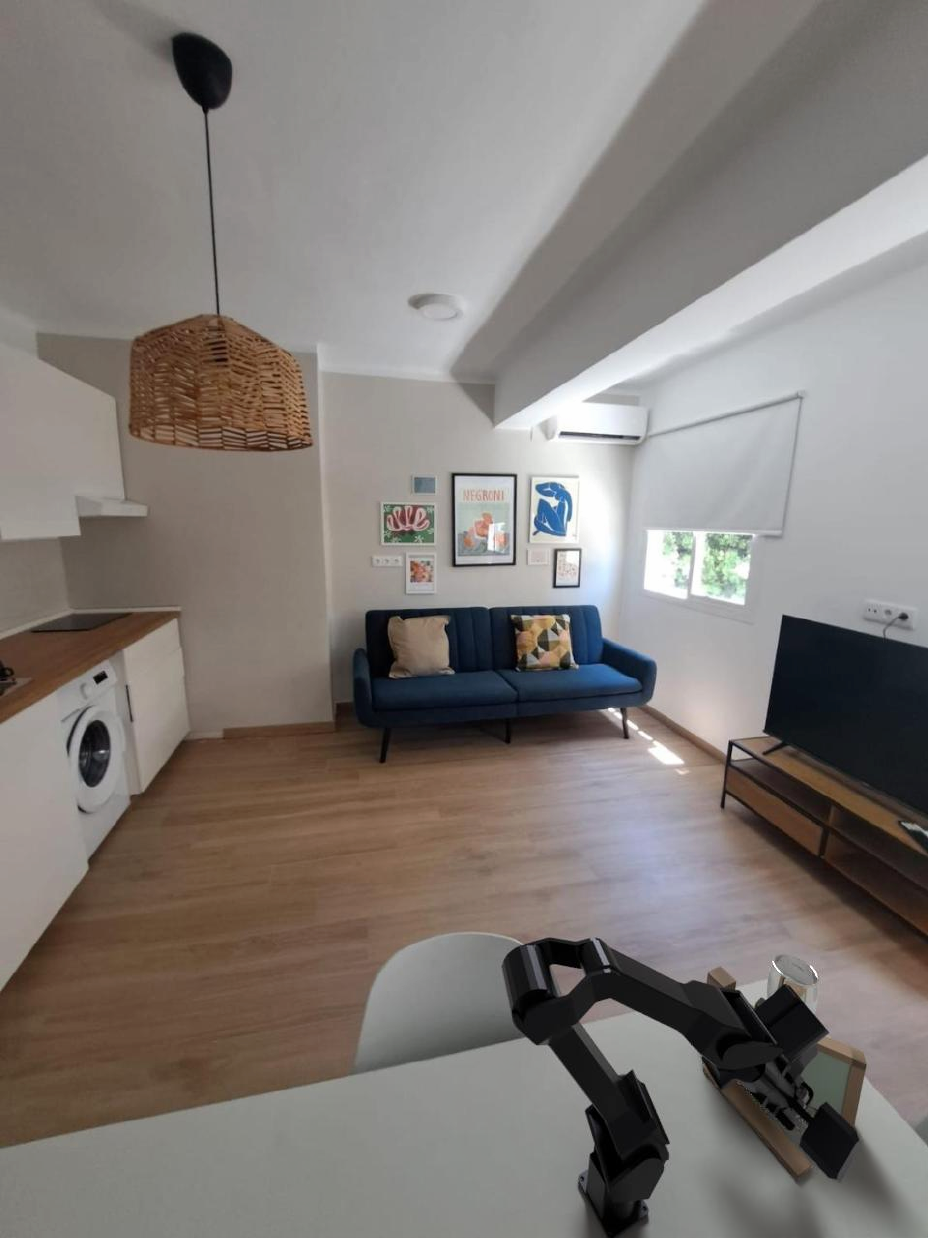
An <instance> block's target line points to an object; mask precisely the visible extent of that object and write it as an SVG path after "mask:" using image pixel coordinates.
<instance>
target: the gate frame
mask: <svg viewBox="0 0 928 1238" xmlns="http://www.w3.org/2000/svg"><path fill="white" fill-rule="evenodd" d="M705 983H706V984H710V985H713V986H716V987H717V988H726V989H733V990H736V986H737V980H736V978H734V977H733V976H732V975H730V974H729V972H727V971H726V969H724V968H723V967H722V966H718V967H716V968H714V969H711V970H709V971H707V975H706V982H705ZM702 1071H703V1073H704V1074H706V1076H707V1077H708V1078H709V1079H710V1081H711V1082H712V1083H713V1084H714V1085H715V1086H716V1088H718V1086H717V1085H716V1083H715V1081H714V1080H713V1078H712V1076H711V1075H710V1073H709V1071H708V1070H707V1068H706V1066H705V1065H704V1064H703V1066H702ZM718 1089H719V1088H718ZM719 1091H720V1092H721V1093H722V1095H723V1096H725V1098H726V1099H727V1100H728V1101H729V1102H730V1103H731V1105H732V1107H734V1108H735V1109H736V1111H737V1113H739V1114H740V1115H741V1116H742V1118H743V1119H744V1120H745V1121H746V1122H747V1124H748V1125H749V1126H750V1127H751V1129H753V1130H754V1131H755V1132H756V1134H757V1135H758V1136H759V1137H760V1139H761V1140H762V1141H763V1142H764V1143H765V1144H766V1146H768V1148H769V1149H770V1150H771V1152H773V1154H774V1155H775V1156H776V1157H777V1158H778V1159H779V1160H780V1162H781V1163H782V1164H783V1166H785V1167H786V1169H787V1170H788V1171H789V1172H790V1173H791V1175H792V1176H793V1177H794V1178H795V1179H796V1181H799V1180H800V1179H801V1178H802V1177H804V1176H805V1174H807V1173H808V1172H809V1171H810V1170H811V1169H812V1167H813V1166H812V1165H813V1164H812V1163H811V1162H810V1161H809V1160H808V1158H807V1157H806V1156H805V1155H804V1154H803V1153H802V1152H801V1151H800V1150H799V1148H797V1146H796V1145H795V1144H794V1143H793V1142H792V1141H791V1139H790V1138H788V1136H787V1135H786V1134H785V1132H783V1131H782V1130H781V1128H780V1127H778V1125H777V1124H776V1123H775V1122H774V1121H773V1120H772V1118H770V1117H769V1115H768V1114H767V1113H766V1112H765V1111H764V1110H763V1109H762V1107H761V1106H760V1104H758V1103H757V1101H755V1099H754V1098H753V1097H751V1094H750V1093H749V1092H747V1090H745V1089H744V1087H742V1085H741V1084H740V1083H739V1082H738V1081H735V1082H733V1083H732V1084H731V1085H729V1086H728V1087H727V1088H726V1089H724V1090H723V1091H721V1090H720V1089H719Z"/></svg>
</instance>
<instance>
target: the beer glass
mask: <svg viewBox="0 0 928 1238" xmlns="http://www.w3.org/2000/svg"><path fill="white" fill-rule="evenodd" d="M766 984H767V985H766V999H768V998H769V997H770V996H771V995H773V994H774V993H775V992H776V990H777V989H778V988H780V987H781V986H782V985H783V984H787V985H790V987H791V988H792V989H793V990H794V991H795V992H796V994H797V995H798V996H799V997H800V998H801V1000H802V1001H803V1002H804V1003H805V1004H806V1005H807V1007H808V1008H809V1009H810V1010H811V1011H812V1013H813V1014H814V1015H815V1013H816V1010H817V1007H818V1001H819V1000H818V999H819V989H820V988H819V986H820V985H819V984H820V975H818V972H817V971H816V970H815V969H814V967H812V965H810V964H809V963H808V962H807V961H805V960H804V959H801V958H800V957H798V956H796V955H794V954H791V953H786V952H784V953H783V952H781V953H779V952H778V953H776V954H775V955H773V957H772V961H771V964H770V968H769V971H768V976H767V983H766Z"/></svg>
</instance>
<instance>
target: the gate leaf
mask: <svg viewBox="0 0 928 1238" xmlns="http://www.w3.org/2000/svg"><path fill="white" fill-rule="evenodd" d="M751 1006H752V1007H753V1008H754V1007H755V1005H753V1004H751ZM817 1049H818V1054H817V1056H816V1057H814V1058H813V1059H812V1060H811V1061H810V1063H809V1064H808V1065H807V1066H806V1067H805V1068H804V1071H803V1072H802V1074H801V1075H800V1076H801V1077H802V1078H803V1079H804V1081H805V1082H806V1083H807V1084H808V1085H809V1086H810V1087H811V1088H812V1090H813V1093H814V1096H813V1100H812V1102H811V1104H810V1105H809V1107H812V1108H813V1109H815V1110H818V1109H819V1107H820V1106H821V1105H822V1104H823V1103H825V1102H827V1103H828V1104H829V1105H830V1106H831V1107H832V1108H833V1109H834V1110H836V1111H837V1112H838V1113H839V1114H840V1115H841V1116H842V1117H843V1118H844V1119H845V1120H846V1121H847V1122H848V1123H849V1124H850V1125H851V1126H852V1127H853V1128H854V1129H855V1124H856V1119H857V1113H858V1111H859V1104H860V1099H861V1094H862V1089H863V1084H864V1080H865V1075H866V1070H867V1064H868V1063H867V1059H866V1057H865V1052H864V1051H862V1050H860V1049H857V1048H854V1047H852V1046H849V1044H846V1043H843V1042H840V1041H838V1040H836V1039H834V1038H831V1037H830V1036H828V1035H827V1036H825V1037H824V1038H823V1039H822V1040H820V1041H819V1042H818V1043H817Z"/></svg>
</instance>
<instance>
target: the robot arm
mask: <svg viewBox="0 0 928 1238" xmlns="http://www.w3.org/2000/svg"><path fill="white" fill-rule="evenodd" d="M554 965H557V966H561V967H562V966H563V967H567V968H571V969H575V970H576V969H577V970H582V972H583V974H584V977H583V978H582V979H581V980H580V981H579V982H578V983H577V984H576V985H575V986H574V987H573V988H572V989H571V990H570V991H569V992H568V993H567V994H564V995H563V994H562V991H561V988H560V986H559V983H558V980H557V977H556V975H555V973H554V971H553V970H554V969H552V966H554ZM501 973H502V977H503V981H504V982H503V983H504V986H505V990H506V991H505V992H506V996H507V1001H508V1006H509V1010H510V1015H511V1019H512V1023H513V1025H514V1027H515V1028H516V1029H517V1031H518V1032H519V1033H520V1034H522V1035H523V1036H524V1037H525V1038H527V1040H528V1041H530V1042H531V1043H532V1044H533V1045H535V1046H539V1047H540V1046H548V1048H550V1049H551V1051H552V1052H553V1054H554V1056H555V1057H556V1058H557V1059H558V1061H559V1062H560V1063H561V1065H562V1066H563V1067H564V1069H565V1070H566V1072H567V1073H568V1074H569V1075H570V1077H571V1078H572V1079H573V1081H574V1082H575V1083H576V1084H577V1086H578V1087H579V1088H580V1090H581V1091H582V1092H583V1094H584V1095H585V1096H586V1098H587V1099H588V1100H589V1102H590V1103H591V1104H590V1105H589V1106H587V1107H586V1108H585V1109H584V1114H585V1117H586V1120H587V1124H588V1127H589V1130H590V1134H591V1137H592V1140H593V1144H594V1145H593V1151H592V1152H591V1153H589V1156H588V1168H587V1169H586V1170H584V1171H582V1172H580V1173H579V1175H578V1176H577V1177H578V1178H577V1179H578V1180H577V1182H578V1184H579V1186H580V1188H581V1190H582V1192H583V1194H584V1195H585V1197H586V1199H587V1201H588V1204H589V1205H590V1207H591V1209H592V1211H593V1213H594V1215H595V1217H596V1219H597V1221H598V1222H599V1224H600V1226H601V1228H602V1231H603V1232H604V1235H605V1236H606V1237H607V1238H619V1236H622V1235H623V1234H624V1233H626V1232H627V1231H629V1230H630V1229H631V1228H632V1227H634V1226H635V1225H637V1224H639V1222H641V1221H642V1220H644V1219H645V1218H647V1217H648V1215H649V1211H650V1210H649V1207H648V1205H647V1204H646V1202H645V1201H646V1200H649V1199H650V1198H651V1196H652V1194H653V1192H654V1191H655V1189H656V1187H657V1185H658V1183H659V1181H660V1179H661V1178H662V1176H663V1174H664V1172H665V1164H666V1163H667V1161H669V1160H670V1152H669V1150H668V1148H667V1145H670V1144H671V1141H670V1139H669V1137H668V1135H667V1132H666V1130H665V1128H664V1125H663V1123H662V1121H661V1118H660V1117H659V1116H660V1115H659V1114H658V1112H657V1109H656V1107H655V1104H654V1102H653V1100H652V1097H651V1095H650V1093H649V1091H648V1088H647V1085H646V1083H644V1082H643V1081H640V1079H639V1078H638V1077H637V1075H636V1073H635V1071H634V1069H633V1068H632V1069H631V1070H630V1071H628V1072H627V1073H622V1074H618V1073H617V1072H616V1070H615V1069H614V1067H613V1066H612V1065H611V1063H610V1062H609V1060H607V1058H606V1057H605V1055H604V1053H602V1051H601V1049H600V1048H599V1047H598V1045H597V1044H596V1042H594V1040H593V1038H592V1037H591V1035H590V1034H589V1032H587V1030H586V1028H584V1026H583V1025H582V1023H581V1022H580V1021H581V1019H583V1017H585V1015H586V1014H587V1013H588V1012H589V1010H591V1009H592V1008H593V1006H594V1005H595V1004H597V1003H598V1002H602V1001H606V1000H609V999H611V1000H613V1001H615V1002H617V1003H618V1004H621V1005H623V1006H624V1007H627V1008H629V1009H631V1010H632V1011H635V1012H637V1013H639V1014H640V1015H644V1016H646V1017H648V1018H650V1019H651V1020H654V1021H655V1022H657V1023H660V1024H662V1025H664V1026H666V1027H668V1028H670V1029H673V1030H674V1031H676V1032H678V1033H679V1034H681V1035H682V1036H683V1037H684V1038H685V1039H686V1041H687V1042H689V1043H688V1044H690V1045H691V1046H692V1047H693V1048H694V1049H695V1051H697V1053H698V1054H699V1055H700V1056H701V1058H700V1059H701V1061H702V1063H703V1066H704V1065H705V1066H706V1068H707V1070H708V1071H709V1073H710V1075H711V1076H712V1078H713V1080H714V1081H715V1083H716V1085H717V1086H718V1087H717V1086H716V1085H715V1086H716V1087H717V1088H718V1089H720V1090H721V1091H723V1090H724V1089H726V1088H727V1087H728V1086H729V1085H731V1084H732V1083H733V1082H735V1081H737V1082H738V1083H739V1084H740V1085H741V1087H742V1086H743V1088H745V1089H746V1091H748V1094H749V1095H750V1096H752V1098H753V1099H754V1100H756V1102H758V1103H759V1106H760V1107H762V1108H765V1109H766V1110H768V1111H769V1113H770V1114H771V1115H772V1116H774V1118H775V1119H776V1120H777V1121H778V1122H779V1124H781V1125H782V1126H783V1127H784V1129H786V1130H787V1131H789V1132H794V1130H796V1128H797V1129H798V1130H799V1131H800V1132H801V1133H802V1135H801V1137H800V1140H799V1145H798V1147H800V1149H802V1150H803V1152H804V1153H806V1155H807V1156H808V1157H809V1158H810V1160H811V1161H813V1163H814V1164H815V1165H816V1166H817V1167H818V1168H819V1169H820V1171H822V1173H823V1174H824V1176H826V1177H827V1178H828V1179H829V1180H831V1181H832V1182H835V1183H839V1184H841V1182H842V1181H843V1179H844V1177H845V1176H846V1174H847V1172H848V1171H849V1169H850V1167H851V1166H852V1164H853V1161H855V1159H856V1157H857V1155H858V1153H859V1152H860V1150H861V1148H862V1146H863V1145H864V1142H863V1139H862V1136H861V1134H860V1132H858V1130H856V1129H855V1127H854V1128H853V1127H852V1126H851V1125H850V1124H849V1123H848V1122H847V1121H846V1120H845V1119H844V1118H843V1117H842V1116H841V1115H840V1114H839V1113H838V1112H837V1111H836V1110H834V1109H833V1108H832V1107H831V1106H830V1105H829V1104H828V1103H827V1102H825V1103H823V1104H822V1105H821V1106H820V1107H819V1109H816V1112H815V1114H814V1115H813V1116H812V1115H811V1114H810V1113H809V1112H808V1111H807V1110H808V1108H809V1107H810V1106H809V1105H810V1104H811V1102H812V1100H813V1096H814V1093H813V1090H812V1088H811V1087H810V1086H809V1085H808V1084H807V1083H806V1082H805V1081H804V1079H803V1078H802V1077H801V1076H800V1075H801V1074H802V1072H803V1071H804V1068H805V1067H806V1066H807V1065H808V1064H809V1063H810V1061H811V1060H812V1059H813V1058H814V1057H816V1056H817V1054H818V1049H817V1043H818V1042H819V1041H820V1040H822V1039H823V1038H824V1037H825V1036H827V1037H828V1035H829V1034H830V1031H829V1030H828V1029H827V1027H825V1025H824V1024H823V1023H822V1022H821V1021H820V1020H819V1018H818V1017H817V1016H816V1015H815V1014H813V1013H812V1011H811V1010H810V1009H809V1008H808V1007H807V1005H806V1004H805V1003H804V1002H803V1001H802V1000H801V998H800V997H799V996H798V995H797V994H796V992H795V991H794V990H793V989H792V988H791V987H790V985H787V984H783V985H782V986H781V987H780V988H778V989H777V990H776V992H775V993H774V994H773V995H771V996H770V997H769V998H768V999H767V998H766V999H765V998H764V997H762V996H761V997H760V998H759V999H757V1001H756V1002H754V1003H755V1004H754V1006H755V1007H754V1008H753V1007H752V1006H751V1005H752V1004H751V1003H750V1002H749V1000H748V999H747V998H746V996H744V993H742V991H741V990H740V989H735V990H733V989H726V988H717V987H716V986H713V985H710V984H706V983H707V982H702V981H700V980H696V979H691V980H689V981H687V982H679V981H677V980H675V979H673V978H671V977H669V976H668V975H665V974H663V973H662V972H659V971H658V970H656V969H654V968H651V967H650V966H648V965H646V964H644V963H642V962H640V961H637V960H636V959H634V958H632V957H630V956H628V955H626V954H625V953H622V952H620V951H619V950H616V949H614V948H613V947H610V946H609V945H608V944H607V943H606V942H605V941H603V940H602V939H601V938H599V937H588V938H585V939H581V940H577V941H574V940H568V939H562V938H557V937H551V936H550V937H544V938H542V939H538V940H535V941H531V942H528V943H524V944H521V945H518V946H516V947H514V948H513V949H511V950H510V951H509V952H508V953H507V954H506V955H505V957H504V958H503V960H502V964H501ZM720 1090H719V1091H720ZM721 1091H720V1092H721ZM804 1122H805V1123H804ZM622 1233H623V1234H622Z"/></svg>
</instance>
